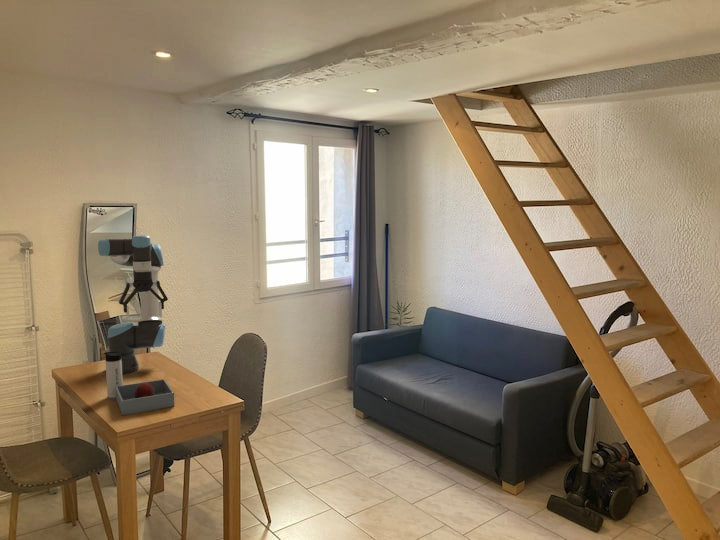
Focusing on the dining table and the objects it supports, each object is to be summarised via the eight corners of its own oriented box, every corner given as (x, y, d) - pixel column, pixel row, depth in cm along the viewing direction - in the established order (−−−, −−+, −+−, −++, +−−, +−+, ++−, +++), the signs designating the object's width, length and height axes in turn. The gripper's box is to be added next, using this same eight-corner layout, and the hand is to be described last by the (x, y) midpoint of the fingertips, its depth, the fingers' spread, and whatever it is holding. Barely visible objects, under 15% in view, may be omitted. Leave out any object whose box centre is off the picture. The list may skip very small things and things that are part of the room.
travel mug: (109, 394, 242) (107, 350, 239) (125, 394, 242) (123, 350, 240) (104, 399, 236) (102, 354, 233) (120, 399, 236) (118, 354, 234)
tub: (116, 400, 236) (115, 386, 235) (164, 392, 246) (164, 379, 245) (122, 415, 218) (121, 401, 218) (174, 406, 228) (173, 392, 228)
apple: (158, 400, 235) (157, 381, 234) (145, 406, 227) (144, 387, 226) (144, 397, 237) (143, 379, 236) (131, 404, 230) (130, 385, 229)
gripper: (112, 273, 233) (115, 322, 236) (173, 270, 246) (175, 316, 248) (110, 271, 240) (113, 319, 242) (170, 268, 252) (171, 313, 255)
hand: (144, 318), depth 245 cm, fingers open, 13 cm apart
